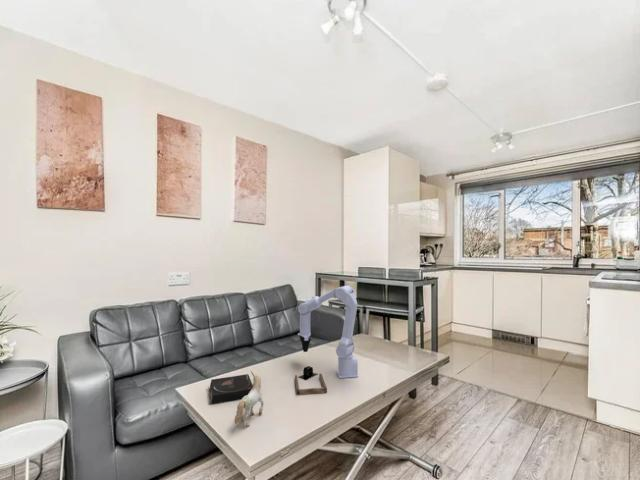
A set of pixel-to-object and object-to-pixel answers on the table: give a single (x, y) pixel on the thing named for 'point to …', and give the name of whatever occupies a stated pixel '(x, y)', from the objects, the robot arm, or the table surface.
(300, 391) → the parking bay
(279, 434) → the table surface
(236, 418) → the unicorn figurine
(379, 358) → the table surface
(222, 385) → the portable cd player
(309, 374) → the black bevelled base
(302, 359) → the table surface
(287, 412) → the table surface
